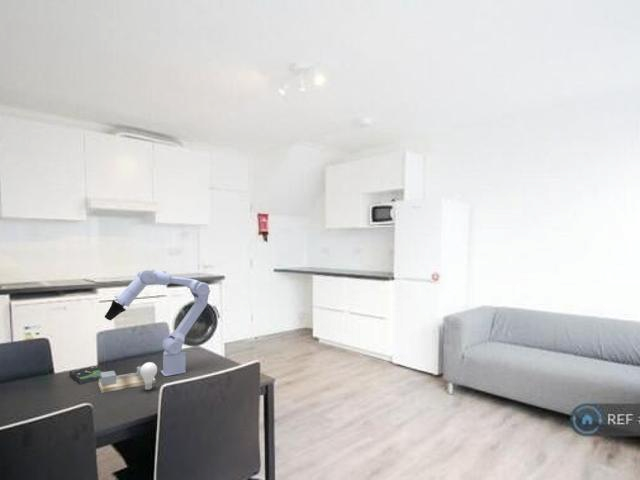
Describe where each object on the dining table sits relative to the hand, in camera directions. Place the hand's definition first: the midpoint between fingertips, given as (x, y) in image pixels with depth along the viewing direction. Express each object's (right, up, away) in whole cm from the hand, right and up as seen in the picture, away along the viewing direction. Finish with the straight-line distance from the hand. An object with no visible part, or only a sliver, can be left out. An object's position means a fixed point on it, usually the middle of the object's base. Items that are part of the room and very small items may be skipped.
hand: (107, 319), depth 159 cm
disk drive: (-14, -28, +9) cm, 33 cm away
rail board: (+7, -28, +2) cm, 29 cm away
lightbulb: (+19, -28, -4) cm, 34 cm away
